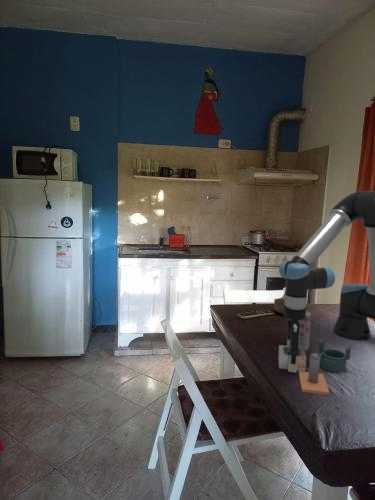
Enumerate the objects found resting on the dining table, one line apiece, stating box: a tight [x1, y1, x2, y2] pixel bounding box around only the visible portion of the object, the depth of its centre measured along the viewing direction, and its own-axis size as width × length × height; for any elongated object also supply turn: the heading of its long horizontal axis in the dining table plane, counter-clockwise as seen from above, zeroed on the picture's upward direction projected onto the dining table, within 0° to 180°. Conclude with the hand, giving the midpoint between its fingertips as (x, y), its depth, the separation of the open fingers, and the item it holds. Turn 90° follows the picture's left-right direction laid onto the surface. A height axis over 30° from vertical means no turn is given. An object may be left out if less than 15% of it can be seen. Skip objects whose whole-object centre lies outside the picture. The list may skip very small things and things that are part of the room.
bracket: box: [317, 339, 352, 373], centre depth 127 cm, size 9×9×9 cm
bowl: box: [273, 293, 285, 315], centre depth 190 cm, size 18×14×10 cm
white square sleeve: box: [277, 344, 307, 372], centre depth 129 cm, size 9×9×5 cm
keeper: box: [298, 352, 330, 396], centre depth 115 cm, size 8×12×10 cm, turn 167°
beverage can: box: [298, 310, 312, 352], centre depth 143 cm, size 6×6×15 cm
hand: (291, 363), depth 130 cm, fingers open, 12 cm apart
